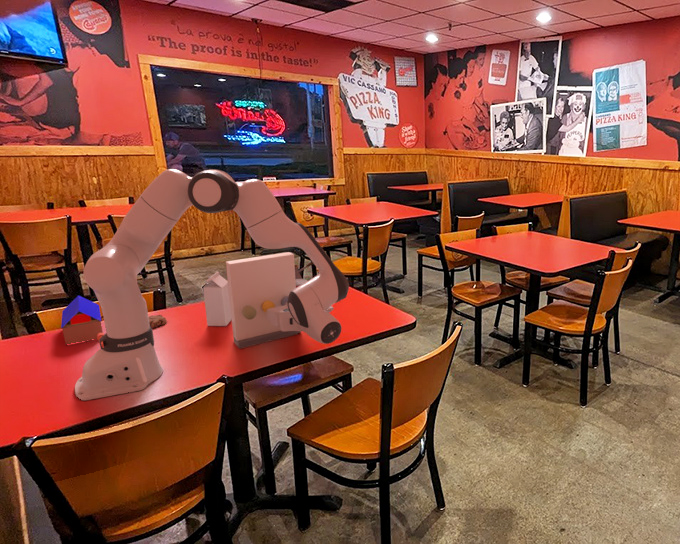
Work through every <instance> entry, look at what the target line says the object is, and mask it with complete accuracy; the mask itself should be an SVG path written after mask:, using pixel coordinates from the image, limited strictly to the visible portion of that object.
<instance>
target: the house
mask: <svg viewBox="0 0 680 544" xmlns="http://www.w3.org/2000/svg"><path fill="white" fill-rule="evenodd" d="M60 325H61V326H60V327H61V328H60V329H62V333H63V338H64V342H65V345H66V344H71V343H76V342H82V341H87V340H92V339H97V335H98V334H99V333H103V334H104V332H103V325H102V316H101V311H100V304H97V303H96V302H94V301H92V300H89V299H87V298H86V297H83V296H81V295H77V296H76V297H75V298H74V299H73V300H72V301H71V302H70V303H69V304H68V305H67V306H66V307H65V308H64V309H63V310H62V313H61V324H60ZM101 325H102V326H101ZM92 341H93V340H92Z"/></svg>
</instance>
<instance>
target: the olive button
mask: <svg viewBox="0 0 680 544" xmlns="http://www.w3.org/2000/svg"><path fill="white" fill-rule="evenodd" d="M242 314H243V316H244V317H245V318H246V319H253V318H254V317H255V316H256V310H255V309H254V308H253V307H252V306H246V307H245V308H244V309H243V311H242Z"/></svg>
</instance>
